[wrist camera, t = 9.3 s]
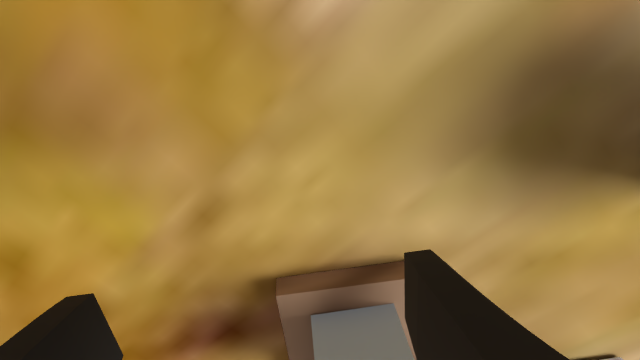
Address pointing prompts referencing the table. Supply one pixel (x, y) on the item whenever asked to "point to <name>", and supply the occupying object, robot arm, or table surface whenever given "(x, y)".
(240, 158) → the table surface
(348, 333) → the block
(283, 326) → the slab
